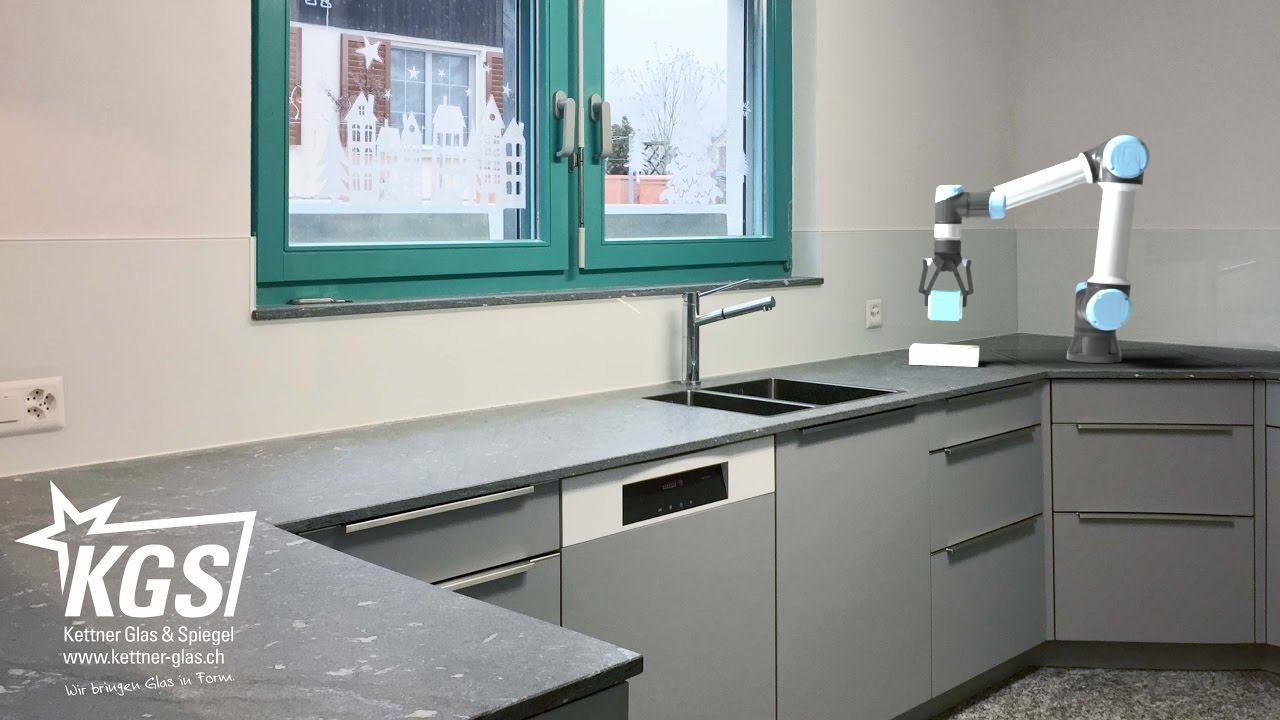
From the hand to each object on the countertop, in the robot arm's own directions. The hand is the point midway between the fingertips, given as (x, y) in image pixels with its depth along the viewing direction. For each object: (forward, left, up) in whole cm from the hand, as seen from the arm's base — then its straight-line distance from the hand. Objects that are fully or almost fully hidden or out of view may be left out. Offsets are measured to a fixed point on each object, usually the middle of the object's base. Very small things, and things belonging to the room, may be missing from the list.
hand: (945, 317), depth 351 cm
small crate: (0, 0, 0) cm, 0 cm away
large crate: (0, 0, -13) cm, 13 cm away
